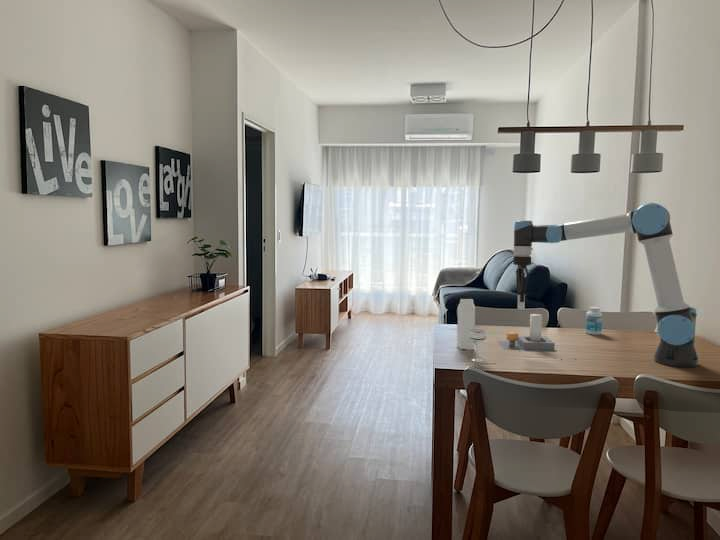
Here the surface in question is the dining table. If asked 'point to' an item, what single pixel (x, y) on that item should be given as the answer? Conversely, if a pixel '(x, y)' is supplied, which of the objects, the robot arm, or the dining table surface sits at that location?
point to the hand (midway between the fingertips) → (521, 308)
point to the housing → (528, 344)
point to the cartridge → (535, 327)
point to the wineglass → (477, 340)
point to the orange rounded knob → (512, 336)
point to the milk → (465, 323)
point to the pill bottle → (593, 321)
